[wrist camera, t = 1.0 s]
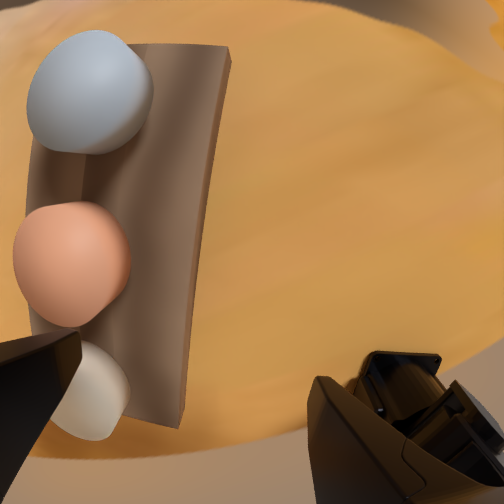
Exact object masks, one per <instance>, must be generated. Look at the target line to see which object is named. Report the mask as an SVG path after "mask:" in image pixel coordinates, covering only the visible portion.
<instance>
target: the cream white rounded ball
mask: <svg viewBox="0 0 504 504" xmlns="http://www.w3.org/2000/svg"><path fill="white" fill-rule="evenodd" d="M81 344H82V361H81V363H80V365H79V367H78V369H77V371H76V373H75V375H74V377H73V379H72V381H71V383H70V385H69V387H68V389H67V391H66V393H65V395H64V397H63V398H62V400H61V402H60V403H59V405H58V407H57V408H56V410H55V411H54V413H53V414H52V416H51V418H50V419H51V420H52V421H53V422H54V423H55V424H56V425H57V426H59V427H60V428H61V429H63V430H64V431H66V432H67V433H69V434H71V435H73V436H76V437H78V438H81V439H84V440H90V441H99V440H103V439H106V438H107V437H109V436H110V435H111V433H112V432H113V430H114V428H115V426H116V424H117V422H118V420H119V419H120V417H121V415H122V413H123V411H124V410H125V408H126V406H127V404H128V402H129V399H130V386H129V382H128V380H127V377H126V375H125V373H124V372H123V370H122V369H121V367H120V366H119V365H118V363H117V362H116V361H115V360H114V358H113V357H111V356H110V355H109V354H108V353H107V352H105V351H104V350H102V349H101V348H99V347H98V346H96V345H94V344H92V343H89V342H87V341H83V340H81Z"/></svg>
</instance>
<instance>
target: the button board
mask: <svg viewBox="0 0 504 504" xmlns="http://www.w3.org/2000/svg"><path fill="white" fill-rule="evenodd" d="M127 46H128V47H129V48H130V49H131V50H132V51H133V52H134V53H135V54H137V55H138V56H139V57H140V58H141V59H142V60H143V61H144V62H145V64H146V65H147V67H148V68H149V70H150V72H151V75H152V79H153V85H154V95H153V102H152V105H151V109H150V111H149V114H148V116H147V118H146V120H145V122H144V124H143V125H142V127H141V128H140V130H139V131H138V132H137V133H136V134H135V135H134V136H133V137H132V138H131V139H130V140H129V141H128V142H127V143H125V144H124V145H123V146H121V147H119V148H118V149H116V150H113V151H111V152H108V153H105V154H99V155H91V154H82V153H72V152H62V151H55V150H52V149H49V148H47V147H45V146H43V145H42V144H41V143H40V142H39V141H38V140H37V139H36V138H35V136H34V135H33V141H32V148H31V156H30V164H29V173H28V184H27V198H26V217H27V216H28V215H29V214H30V213H31V212H33V211H35V210H36V209H38V208H41V207H45V206H51V205H57V204H63V203H69V202H75V201H89V202H93V203H96V204H98V205H100V206H102V207H104V208H105V209H106V210H108V211H109V212H110V213H111V214H112V215H113V216H114V217H115V218H116V219H117V221H118V222H119V223H120V225H121V226H122V228H123V230H124V232H125V234H126V237H127V240H128V243H129V247H130V253H131V269H130V274H129V278H128V281H127V283H126V285H125V287H124V289H123V290H122V292H121V293H120V294H119V295H118V296H117V297H116V298H115V299H114V300H113V301H112V302H111V303H109V304H108V305H107V306H106V307H105V308H104V309H103V310H101V311H100V312H99V313H98V314H97V315H96V316H95V317H93V318H92V319H91V320H90V321H88V322H87V323H85V324H83V325H81V326H77V327H62V326H58V325H55V324H53V323H51V322H49V321H47V320H46V319H44V318H43V317H41V316H40V315H39V314H38V313H37V312H36V311H35V310H34V309H33V308H32V307H31V306H30V304H29V303H28V306H29V315H30V323H31V331H32V336H34V335H38V334H43V333H47V332H52V331H56V330H60V329H65V328H70V329H73V330H77V331H78V332H79V333H80V335H81V340H83V341H87V342H89V343H92V344H94V345H96V346H98V347H99V348H101V349H102V350H104V351H105V352H107V353H108V354H109V355H110V356H111V357H114V360H115V361H116V362H117V363H118V365H119V366H120V367H121V369H122V370H123V372H124V373H125V375H126V377H127V380H128V382H129V386H130V399H129V402H128V404H127V406H126V408H125V410H124V411H123V413H122V415H125V416H128V417H132V418H135V419H139V420H143V421H146V422H150V423H154V424H158V425H162V426H167V427H171V428H175V429H178V428H179V425H180V421H181V418H182V415H183V412H184V409H185V395H186V382H187V369H188V358H189V347H190V336H191V326H192V316H193V307H194V298H195V289H196V280H197V272H198V264H199V256H200V248H201V240H202V233H203V226H204V219H205V212H206V205H207V198H208V191H209V185H210V178H211V172H212V166H213V160H214V154H215V148H216V142H217V136H218V131H219V125H220V119H221V114H222V109H223V103H224V98H225V93H226V88H227V82H228V77H229V72H230V68H231V63H232V61H231V57H230V53H229V49H228V47H226V46H213V45H197V44H127Z"/></svg>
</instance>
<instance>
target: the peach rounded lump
mask: <svg viewBox="0 0 504 504" xmlns="http://www.w3.org/2000/svg"><path fill="white" fill-rule="evenodd" d="M13 266H14V271H15V276H16V279H17V282H18V285H19V287H20V289H21V292H22V294H23V295H24V297H25V299H26V300H27V302H28V303H29V304H30V306H31V307H32V308H33V309H34V310H35V311H36V312H37V313H38V314H39V315H40V316H41V317H43V318H44V319H46V320H47V321H49V322H51V323H53V324H55V325H58V326H62V327H77V326H81V325H83V324H85V323H87V322H88V321H90V320H91V319H92V318H93V317H95V316H96V315H97V314H98V313H99V312H100V311H101V310H103V309H104V308H105V307H106V306H107V305H108V304H109V303H111V302H112V301H113V300H114V299H115V298H116V297H117V296H118V295H119V294H120V293H121V292H122V290H123V289H124V287H125V285H126V283H127V281H128V278H129V274H130V269H131V253H130V247H129V243H128V240H127V237H126V234H125V232H124V230H123V228H122V226H121V225H120V223H119V222H118V221H117V219H116V218H115V217H114V216H113V215H112V214H111V213H110V212H109V211H108V210H106V209H105V208H104V207H102V206H100V205H98V204H96V203H93V202H89V201H75V202H69V203H63V204H57V205H51V206H45V207H41V208H38V209H36V210H35V211H33V212H31V213H30V214H29V215H28V216H27V217H26V218H25V219H24V220H23V222H22V223H21V225H20V227H19V229H18V231H17V234H16V237H15V241H14V246H13Z"/></svg>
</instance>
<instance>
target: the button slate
mask: <svg viewBox="0 0 504 504" xmlns="http://www.w3.org/2000/svg"><path fill="white" fill-rule="evenodd" d="M153 95H154V85H153V79H152V75H151V72H150V70H149V68H148V67H147V65H146V64H145V62H144V61H143V60H142V59H141V58H140V57H139V56H138V55H137V54H135V53H134V52H133V51H132V50H131V49H130V48H129V47H128V46H127V45H126V44H125V43H124V42H123V41H122V40H121V39H120V38H118V37H117V36H115V35H114V34H112V33H109V32H106V31H101V30H90V31H85V32H81V33H78V34H76V35H73V36H71V37H69V38H68V39H66V40H64V41H63V42H62V43H60V44H59V45H58V46H56V47H55V48H54V49H53V50H52V51H51V52H50V53H49V54H48V55H47V57H46V58H45V59H44V60H43V62H42V63H41V65H40V66H39V68H38V70H37V71H36V73H35V75H34V77H33V80H32V83H31V85H30V89H29V93H28V98H27V118H28V123H29V126H30V129H31V131H32V133H33V135H34V136H35V138H36V139H37V140H38V141H39V142H40V143H41V144H42V145H43V146H45V147H47V148H49V149H52V150H55V151H62V152H72V153H82V154H91V155H99V154H105V153H108V152H111V151H113V150H116V149H118V148H119V147H121V146H123V145H124V144H125V143H127V142H128V141H129V140H130V139H131V138H132V137H133V136H134V135H135V134H136V133H137V132H138V131H139V130H140V128H141V127H142V125H143V124H144V122H145V120H146V118H147V116H148V114H149V111H150V109H151V105H152V102H153Z"/></svg>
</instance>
